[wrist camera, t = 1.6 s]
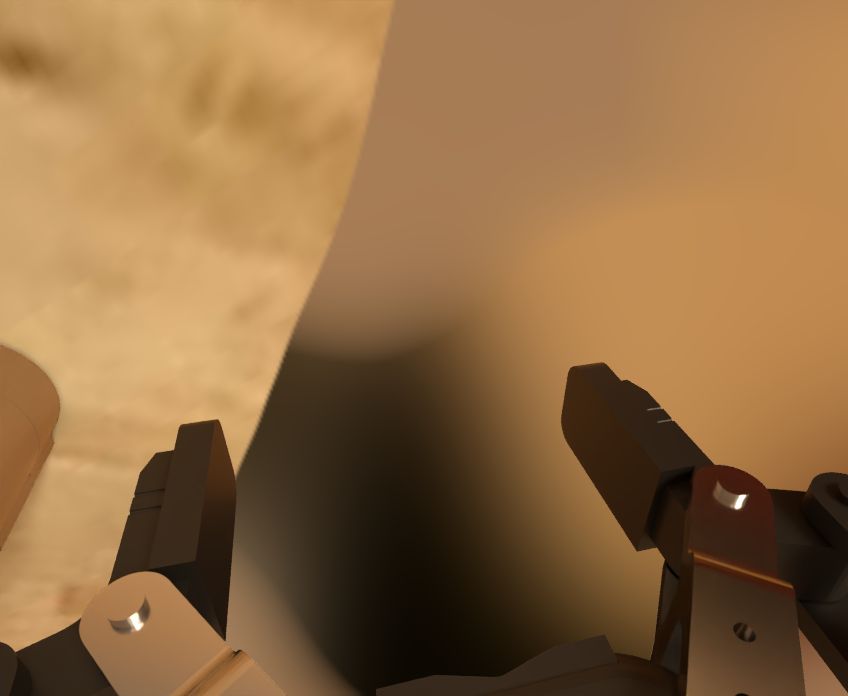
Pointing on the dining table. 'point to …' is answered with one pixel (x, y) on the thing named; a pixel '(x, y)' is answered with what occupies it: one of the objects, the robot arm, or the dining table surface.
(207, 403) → the dining table surface
